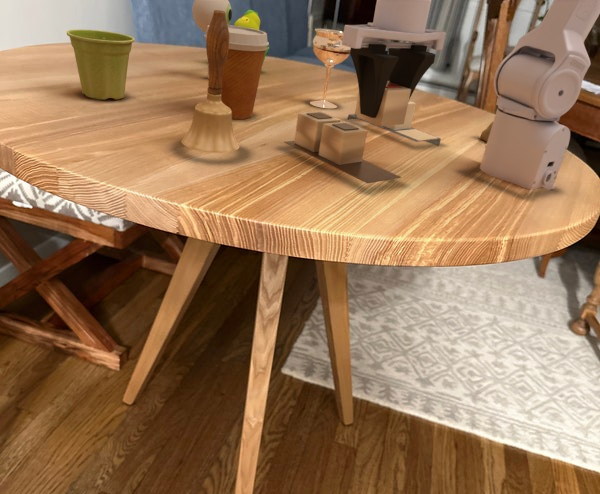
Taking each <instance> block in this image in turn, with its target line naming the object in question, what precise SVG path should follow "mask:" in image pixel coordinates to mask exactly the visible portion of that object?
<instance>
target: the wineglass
mask: <svg viewBox="0 0 600 494" xmlns="http://www.w3.org/2000/svg"><path fill="white" fill-rule="evenodd" d="M314 32H315V36H314V38H313V40H312V50H313V53H314V55H315V57H316V58H317V59H318V60H319V61H320V62H321V63H323V64H324V67H325V68H326V69H325V78H324V88H323V96H322V97H323V98H322V99H319V100H312V101H310V102H309V105H311V106H314V107H317V108H321V109H337V108H338V106H337V104H334V103H332V102H331V101H328V100H327V99H326V98H327V92H328V88H329V82H330V76H331V71H332V69H333V68H334V67H335V66H336V65H338V64H339V65H340V64H341V63H343V62H344V61H345V60H346V59H348V58H349V56H350V49H351V47H348V46H344V45H342V40H343V33H344V31H342V30H336V29H329V28H315V29H314Z"/></svg>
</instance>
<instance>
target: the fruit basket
mask: <svg viewBox="0 0 600 494" xmlns="http://www.w3.org/2000/svg"><path fill="white" fill-rule="evenodd" d="M260 25H261V19H260V17H259V13H258V12H257V11H254V10H252V9H248V10H247V11H245V13H244V14H243V16H241V17H239V18H238V19H236V21H235V22H234V24H233V26H240V27H246V28H252V29H256V30H260ZM269 49H270V46H267V50H265V55H264V60H263V64H264V62H265V59H266V57H267V53H268V52H269ZM263 64H262V66H263Z"/></svg>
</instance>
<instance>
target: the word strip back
mask: <svg viewBox="0 0 600 494" xmlns="http://www.w3.org/2000/svg"><path fill="white" fill-rule="evenodd" d="M359 101H360V97H359V92H358V94H357V100H356V106H355V111H354V113H350V114H348V115H347V120H348V121H349V120H350V121H351V120H359V121H363V122H366V123H368V124H371V125H373V126H376V127H378V128H381V129H383V130H386V131H388V132H390V133H393V134H395V135H398V136H400V137H403V138H406V139H408V140H411V141H413V142H415V143H419V142H427V143H429V144H432V145H434V146H439V145H440V144H441V141H442V138H441V137H438V136H436V135H433V134H430V133H428V132H425V131H422V130H419V129H417V128H414V127H412V125H413V120H414V115H415V111H416V107H417V102H414V101H411V100H409V102H408V107H407V111H406V116H405V120H404V124H401V125H391V126H378V125H375V124H373V123H370V122H368V121H365V120H363V119H360V118H358V117H357V112H358V106H359Z"/></svg>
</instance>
